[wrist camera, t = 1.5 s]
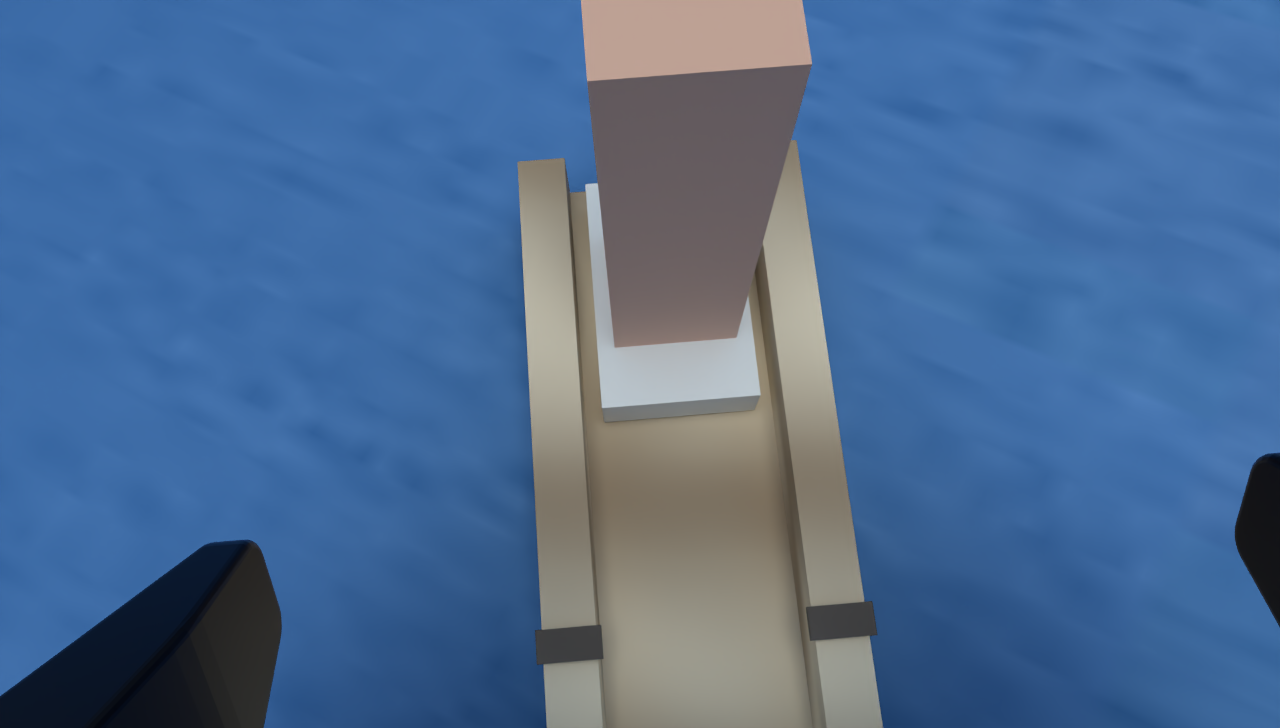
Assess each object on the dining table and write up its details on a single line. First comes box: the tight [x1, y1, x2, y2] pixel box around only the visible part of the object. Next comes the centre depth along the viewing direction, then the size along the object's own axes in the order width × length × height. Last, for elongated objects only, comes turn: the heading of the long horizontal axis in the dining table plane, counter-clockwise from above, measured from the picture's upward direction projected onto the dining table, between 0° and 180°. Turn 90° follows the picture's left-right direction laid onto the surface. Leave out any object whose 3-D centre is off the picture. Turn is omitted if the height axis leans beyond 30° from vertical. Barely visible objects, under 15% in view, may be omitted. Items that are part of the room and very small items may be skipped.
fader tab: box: [581, 0, 812, 422], centre depth 16 cm, size 5×3×11 cm, turn 5°
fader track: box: [518, 140, 883, 728], centre depth 20 cm, size 16×6×3 cm, turn 5°
